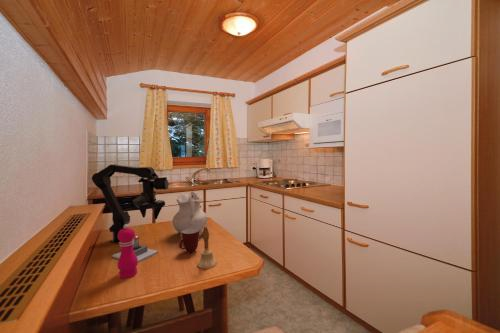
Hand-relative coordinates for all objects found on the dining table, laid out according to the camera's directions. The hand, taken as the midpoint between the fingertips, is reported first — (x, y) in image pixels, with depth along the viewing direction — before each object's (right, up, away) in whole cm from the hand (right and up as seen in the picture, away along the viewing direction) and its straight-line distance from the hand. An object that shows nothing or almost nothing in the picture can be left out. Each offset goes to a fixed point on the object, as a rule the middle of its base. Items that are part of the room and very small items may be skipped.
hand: (149, 218), depth 129 cm
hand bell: (+37, -13, -29) cm, 49 cm away
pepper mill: (+7, -14, -36) cm, 40 cm away
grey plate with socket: (+1, -13, -19) cm, 23 cm away
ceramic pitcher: (+21, -11, +6) cm, 25 cm away
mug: (+26, -13, -17) cm, 34 cm away
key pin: (+1, -12, -19) cm, 22 cm away
